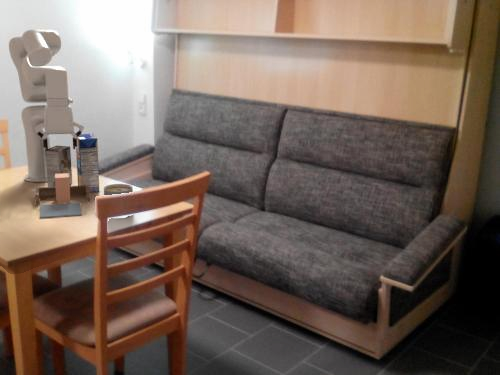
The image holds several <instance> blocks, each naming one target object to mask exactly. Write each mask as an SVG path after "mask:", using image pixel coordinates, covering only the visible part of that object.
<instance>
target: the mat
mask: <svg viewBox="0 0 500 375" xmlns="http://www.w3.org/2000/svg"><path fill="white" fill-rule="evenodd" d="M76 216H77V217H78V216H79V217H80V216H83V213H82V205H81V201H79V202H78V201H77V202H71V203H44V204H40V209H39V219H47V218H48V219H49V218H63V217H64V218H65V217H76Z"/></svg>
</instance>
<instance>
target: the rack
mask: <svg viewBox="0 0 500 375" xmlns="http://www.w3.org/2000/svg"><path fill="white" fill-rule="evenodd" d="M34 197H35V205H36V206H40V205H41V204H40V203H41V202H40V201H41V199H55V198H56V187H48V186H47V187H46V186H45V187H35V193H34ZM72 197H86V199H85V200H86V203H91V193H90V190H89V185H83V186H78V185H70V198H72Z"/></svg>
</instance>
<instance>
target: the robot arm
mask: <svg viewBox="0 0 500 375" xmlns="http://www.w3.org/2000/svg"><path fill="white" fill-rule="evenodd" d="M61 48H62V40H61V36H60V35H59V33H58V32H57V31H55V30H52V29H28V30H26V31H24V32H23V33H22V36H14V37H12V38H10V39H9V41H8V50H9V51H8V52H9V55H10V59H11V61H12V63H13V65H14V66H15V69H16V72H17V75H18V81H19V87H20V93H21V97H22V99H23V101H24V102H25V103H27V104H39V105H29V106H26V107H24V108H23V109H22V111H21V120H22V125H23V129H24V130H23V131H24V135H25V136H24V137H25V147H26V161H27V162H26V163H27V171H28V172H27V175H24V180H25V181H27V182H30V183H44V182H45V183H46V182H47V169H46V155H45V150H48V149H49V148H51V142H50V141H51V140H50V137H49V135H68V134H70V135H71V136H72V149H73V150H76V147H77V137H78V136H79V135H80V134H83V133H82V132H83V130H84V129H85V126H84V125H82V124H80V123H79V122H76V121H74V115H73V109H72V106H70V104H73V99H71V98H69V85H68V71H67V70H66V69H65V68H63V67H61V66H57V65H56V66H55V65H52V66H51V65H50V66H48V64H49V63H50V62H51V61H52V58H53V57H54V56H55V55H57V54H58V53H59V52H60V50H61ZM43 104H44V105H43ZM45 104H46V105H45ZM76 127H77V128H78V131H77V132H75V128H76ZM43 129H44V130H43Z"/></svg>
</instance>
